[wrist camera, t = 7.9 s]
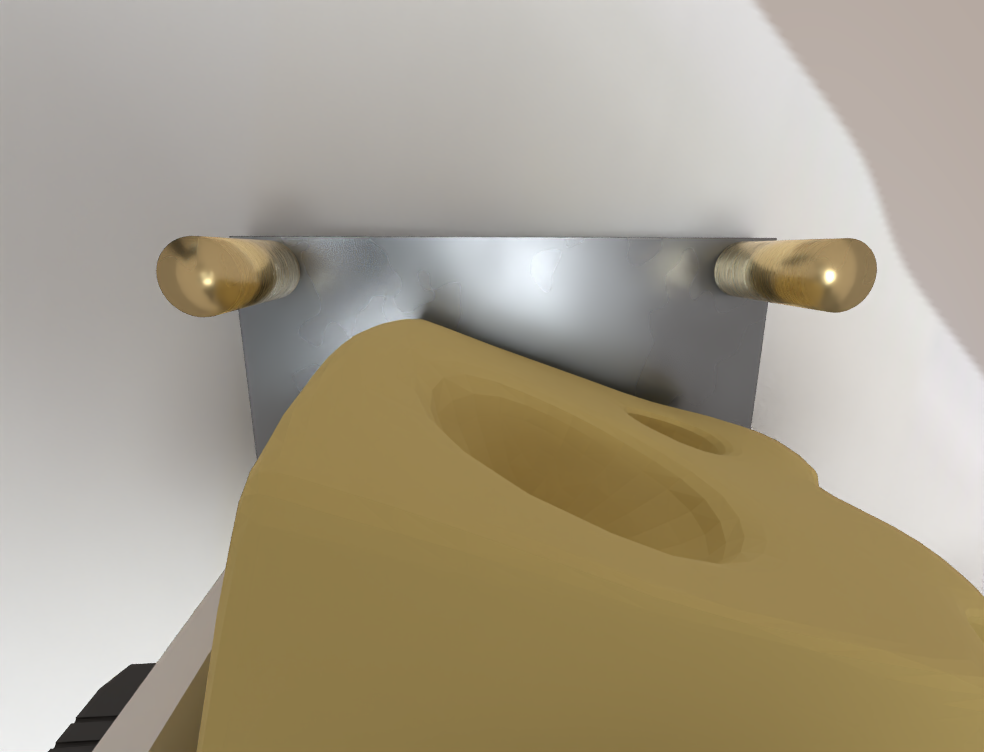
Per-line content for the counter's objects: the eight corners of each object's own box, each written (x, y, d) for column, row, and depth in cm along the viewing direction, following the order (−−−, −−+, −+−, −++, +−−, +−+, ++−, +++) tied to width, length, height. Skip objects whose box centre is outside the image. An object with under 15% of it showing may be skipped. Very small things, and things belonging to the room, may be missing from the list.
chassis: (247, 237, 15) (138, 230, 10) (753, 239, 16) (892, 233, 11) (299, 688, 19) (241, 848, 14) (699, 665, 20) (782, 806, 15)
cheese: (743, 418, 14) (1343, 767, 5) (596, 706, 17) (794, 1350, 7) (397, 291, 13) (215, 421, 3) (285, 629, 15) (-26, 1324, 5)
